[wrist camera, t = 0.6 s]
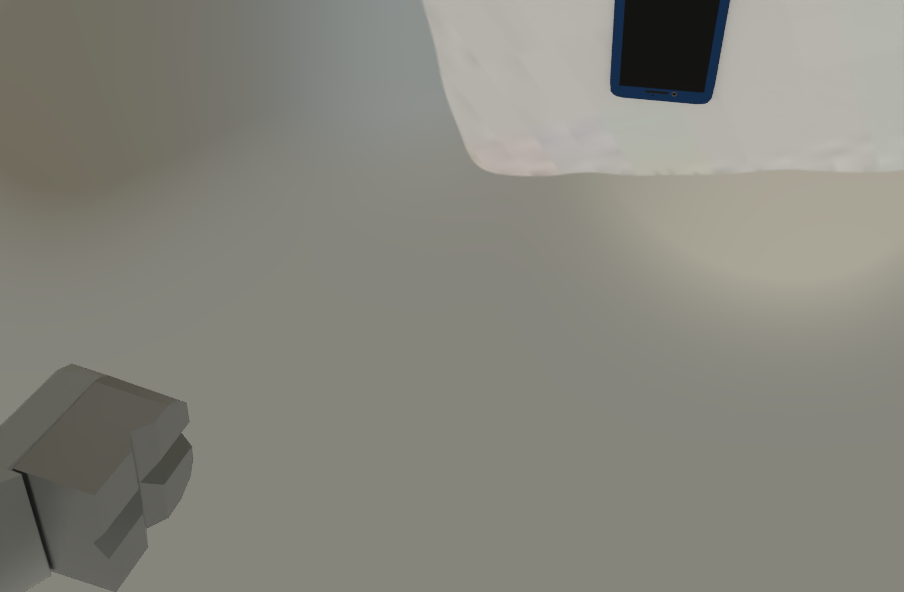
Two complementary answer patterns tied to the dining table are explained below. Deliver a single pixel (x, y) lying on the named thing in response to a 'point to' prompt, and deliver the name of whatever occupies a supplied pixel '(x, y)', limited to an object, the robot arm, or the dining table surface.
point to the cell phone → (667, 49)
